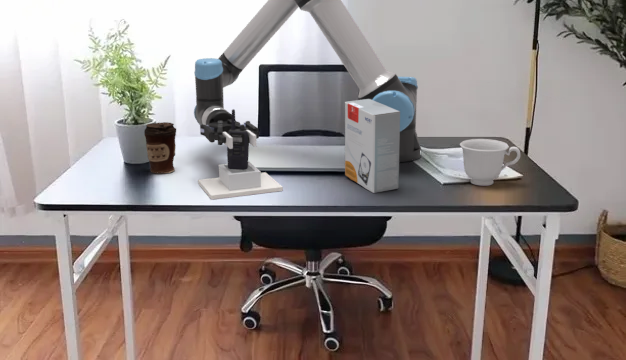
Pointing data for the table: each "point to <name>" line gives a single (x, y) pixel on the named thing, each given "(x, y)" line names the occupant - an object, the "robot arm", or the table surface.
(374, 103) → the hard drive box
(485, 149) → the teacup
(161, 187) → the table surface
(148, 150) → the coffee cup
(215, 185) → the charging cradle
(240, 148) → the two-way radio
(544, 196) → the table surface
